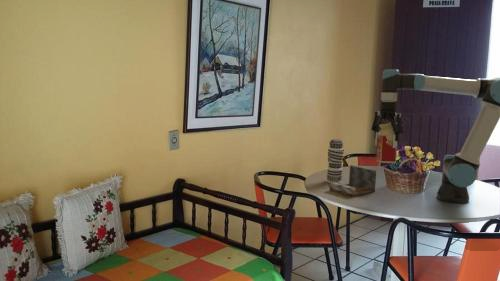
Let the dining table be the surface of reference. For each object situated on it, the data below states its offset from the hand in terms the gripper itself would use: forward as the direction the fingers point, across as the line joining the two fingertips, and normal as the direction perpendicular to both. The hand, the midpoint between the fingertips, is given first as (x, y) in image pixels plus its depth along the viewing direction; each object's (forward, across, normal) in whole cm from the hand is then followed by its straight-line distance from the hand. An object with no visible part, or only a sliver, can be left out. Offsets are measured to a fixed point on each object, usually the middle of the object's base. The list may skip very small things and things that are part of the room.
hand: (385, 146), depth 216 cm
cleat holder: (+27, +19, 0) cm, 33 cm away
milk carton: (+8, 0, 0) cm, 8 cm away
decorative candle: (+27, +39, -9) cm, 49 cm away
